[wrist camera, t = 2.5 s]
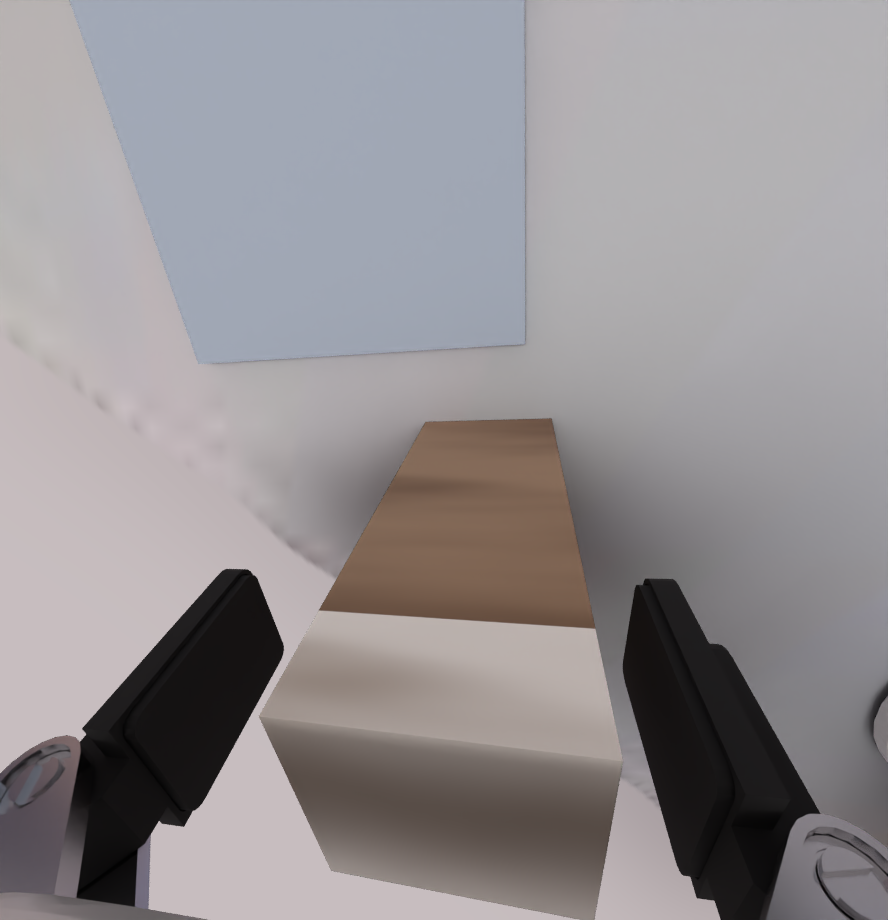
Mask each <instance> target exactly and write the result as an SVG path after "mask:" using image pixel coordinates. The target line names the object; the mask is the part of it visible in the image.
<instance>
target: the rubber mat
mask: <svg viewBox="0 0 888 920" xmlns="http://www.w3.org/2000/svg"><path fill="white" fill-rule="evenodd" d="M69 1H70V3H71V6H72V9H73V12H74V15H75V17H76V20H77V23H78V26H79V29H80V32H81V34H82V37H83V40H84V43H85V46H86V48H87V51H88V54H89V57H90V60H91V63H92V65H93V68H94V71H95V74H96V77H97V79H98V82H99V85H100V88H101V91H102V94H103V96H104V99H105V102H106V105H107V108H108V110H109V113H110V116H111V119H112V122H113V124H114V127H115V130H116V133H117V136H118V139H119V141H120V144H121V147H122V150H123V153H124V155H125V158H126V161H127V164H128V167H129V170H130V172H131V175H132V178H133V181H134V184H135V186H136V189H137V192H138V195H139V198H140V201H141V203H142V206H143V209H144V212H145V215H146V217H147V220H148V223H149V226H150V229H151V231H152V234H153V237H154V240H155V243H156V246H157V248H158V251H159V254H160V257H161V260H162V262H163V265H164V268H165V271H166V274H167V277H168V279H169V282H170V285H171V288H172V291H173V293H174V296H175V299H176V302H177V305H178V308H179V310H180V313H181V316H182V319H183V322H184V324H185V327H186V330H187V333H188V336H189V339H190V341H191V344H192V347H193V350H194V353H195V355H196V358H197V361H198V364H209V363H226V362H242V361H258V360H274V359H291V358H307V357H323V356H340V355H356V354H372V353H388V352H405V351H421V350H437V349H453V348H470V347H486V346H502V345H519V344H525V48H524V0H69Z"/></svg>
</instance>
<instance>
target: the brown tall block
mask: <svg viewBox="0 0 888 920" xmlns="http://www.w3.org/2000/svg"><path fill="white" fill-rule="evenodd" d="M259 718H260V720H261V722H262V724H263V726H264V728H265V731H266V732H267V735H268V737H269V739H270V741H271V743H272V745H273V748H274V750H275V752H276V754H277V756H278V758H279V760H280V763H281V764H282V767H283V769H284V771H285V773H286V775H287V777H288V779H289V782H290V784H291V786H292V788H293V790H294V792H295V795H296V796H297V799H298V801H299V803H300V805H301V807H302V809H303V812H304V814H305V816H306V818H307V820H308V822H309V824H310V826H311V828H312V831H313V833H314V835H315V837H316V839H317V841H318V844H319V846H320V848H321V850H322V852H323V854H324V856H325V859H326V861H327V862H328V865H329V867H330V869H331V871H334V872H340V873H345V874H350V875H355V876H360V877H365V878H370V879H376V880H381V881H386V882H391V883H396V884H401V885H406V886H411V887H416V888H421V889H426V890H431V891H436V892H442V893H447V894H452V895H457V896H462V897H467V898H472V899H477V900H482V901H487V902H493V903H498V904H503V905H508V906H513V907H518V908H523V909H528V910H533V911H539V912H544V913H549V914H554V915H559V916H564V917H570V918H574V919H580V920H594V919H595V912H596V907H597V902H598V897H599V891H600V886H601V880H602V875H603V869H604V864H605V858H606V853H607V847H608V842H609V836H610V830H611V825H612V819H613V813H614V807H615V803H616V797H617V792H618V786H619V781H620V775H621V770H622V764H623V758H622V754H621V749H620V744H619V739H618V735H617V730H616V725H615V720H614V715H613V711H612V706H611V701H610V696H609V691H608V687H607V682H606V677H605V672H604V668H603V663H602V658H601V653H600V648H599V644H598V639H597V634H596V629H595V624H594V620H593V615H592V610H591V605H590V601H589V596H588V591H587V586H586V581H585V577H584V572H583V567H582V562H581V557H580V553H579V548H578V543H577V538H576V534H575V529H574V524H573V519H572V514H571V510H570V505H569V500H568V495H567V490H566V486H565V481H564V476H563V471H562V467H561V462H560V457H559V452H558V447H557V443H556V438H555V433H554V428H553V423H552V419H518V420H482V421H445V422H425V424H424V426H423V428H422V429H421V431H420V433H419V435H418V437H417V438H416V440H415V442H414V444H413V445H412V447H411V449H410V451H409V452H408V454H407V456H406V458H405V459H404V461H403V463H402V465H401V466H400V468H399V470H398V472H397V474H396V475H395V477H394V479H393V481H392V482H391V484H390V486H389V488H388V489H387V491H386V493H385V495H384V496H383V498H382V500H381V502H380V504H379V505H378V507H377V509H376V511H375V512H374V514H373V516H372V518H371V519H370V521H369V523H368V525H367V526H366V528H365V530H364V532H363V533H362V535H361V537H360V539H359V541H358V542H357V544H356V546H355V548H354V549H353V551H352V553H351V555H350V556H349V558H348V560H347V562H346V563H345V565H344V567H343V569H342V571H341V572H340V574H339V576H338V578H337V579H336V581H335V583H334V585H333V586H332V588H331V590H330V592H329V593H328V595H327V597H326V599H325V601H324V602H323V604H322V606H321V608H320V609H319V611H318V613H317V615H316V616H315V618H314V620H313V622H312V623H311V625H310V627H309V629H308V631H307V632H306V634H305V636H304V637H303V639H302V641H301V643H300V645H299V646H298V648H297V650H296V652H295V653H294V655H293V657H292V659H291V661H290V662H289V664H288V666H287V667H286V669H285V671H284V673H283V675H282V676H281V678H280V680H279V682H278V683H277V685H276V687H275V689H274V690H273V692H272V694H271V696H270V698H269V699H268V701H267V703H266V705H265V707H264V708H263V710H262V712H261V713H260V715H259Z"/></svg>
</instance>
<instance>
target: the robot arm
mask: <svg viewBox="0 0 888 920" xmlns="http://www.w3.org/2000/svg"><path fill="white" fill-rule="evenodd" d="M283 651H284V646H283V642H282V640H281V637H280V635H279V632H278V630H277V627H276V625H275V622H274V620H273V617H272V614H271V612H270V609H269V607H268V605H267V602H266V599H265V597H264V594H263V592H262V589H261V587H260V584H259V582H258V579H257V578H256V576H254V575H253V574H252V573H251V571H249V570H245V569H244V570H243V569H226V570H223V571H222V572H221V573H220V574H219V575H218V576H217V577H216V578H215V579H214V580H213V582H212V583H211V584H210V585H209V586H208V587H207V589H205V591H204V592H203V593H202V594H201V595H200V596H199V597H198V599H197V600H196V601H195V602H194V603H193V604H192V605H191V607H189V609H188V610H187V611H186V612H185V613H184V614H183V615H182V616H181V618H180V619H179V620H178V621H177V622H176V623H175V625H174V626H173V627H172V628H171V629H170V630H169V631H168V632H167V634H166V635H165V636H164V637H163V638H162V639H161V640H160V641H159V643H158V644H157V645H156V646H155V647H154V648H153V649H152V650H151V652H150V653H149V654H148V655H147V656H146V657H145V659H143V660H142V662H141V663H140V664H139V665H138V666H137V667H136V668H135V670H134V671H133V672H132V673H131V674H130V675H129V676H128V677H127V679H126V680H125V681H124V682H123V683H122V684H121V685H120V687H119V688H118V689H117V690H116V691H115V692H114V693H113V694H112V695H111V697H110V698H109V699H108V700H107V701H106V702H105V703H104V705H103V706H102V707H101V708H100V709H99V710H98V711H97V713H96V714H95V715H94V716H93V717H92V718H91V719H90V720H89V721H88V723H87V724H86V725H85V726H84V727H83V728H82V729H83V730H84V731H85V733H86V736H85V737H84V738H83V739H82V740H81V741H80V742H79V741H78V740H77V738H76V737H72V736H68V735H66V736H60V737H54V738H52V739H49V740H47V741H44V742H42V743H40V744H38V745H36V746H35V747H33V748H31V749H29V750H28V751H26V752H25V753H24V754H22V755H21V756H20V757H18V758H17V759H16V760H14V761H13V762H12V763H11V764H10V765H9V766H7V767H6V768H5V769H4V770H3V771H2V772H1V773H0V920H206V919H201V918H195V917H189V916H183V915H178V914H172V913H166V912H160V911H155V910H149V909H148V905H149V872H150V871H149V870H150V841H151V833H152V831H153V830H154V828H155V826H156V825H157V823H158V821H160V822H161V823H162V824H169V825H176V826H183V827H184V826H185V824H186V822H187V820H188V819H189V817H190V815H191V813H192V811H193V810H196V809H197V808H198V807H199V806H200V805H201V804H202V803H203V801H204V799H205V798H206V796H207V794H208V792H209V790H210V789H211V787H212V785H213V783H214V781H215V779H216V777H217V776H218V774H219V772H220V770H221V768H222V767H223V765H224V763H225V761H226V759H227V758H228V756H229V754H230V752H231V750H232V748H233V747H234V745H235V743H236V741H237V739H238V737H239V735H240V734H241V732H242V730H243V728H244V726H245V725H246V723H247V721H248V719H249V717H250V716H251V714H252V712H253V710H254V708H255V706H256V705H257V703H258V701H259V699H260V697H261V695H262V694H263V692H264V690H265V688H266V686H267V684H268V683H269V681H270V679H271V677H272V675H273V673H274V672H275V670H276V668H277V666H278V664H279V662H280V661H281V658H282V656H283ZM623 674H624V680H625V683H626V687H627V691H628V694H629V698H630V701H631V705H632V708H633V712H634V715H635V719H636V722H637V726H638V729H639V733H640V737H641V740H642V744H643V747H644V751H645V754H646V758H647V761H648V765H649V768H650V772H651V776H652V779H653V783H654V786H655V790H656V793H657V797H658V800H659V804H660V807H661V811H662V814H663V818H664V822H665V825H666V828H667V832H668V836H669V839H670V843H671V846H672V850H673V853H674V857H675V860H676V863H677V866H678V868H679V871H680V872H681V874H682V875H684V876H690V877H691V880H692V884H693V887H694V890H695V894H696V897H697V898H700V899H707V900H714V901H715V903H716V906H717V909H718V912H719V915H720V919H721V920H888V848H887V847H886V846H884V845H883V844H882V843H880V842H879V841H878V840H876V839H875V838H874V837H873V836H871V835H870V834H869V833H867V832H866V831H864V830H862V829H860V828H859V827H857V826H855V825H853V824H851V823H849V822H848V821H846V820H843V819H840V818H837V817H834V816H830V815H827V814H820V812H819V810H818V809H817V807H816V805H815V803H814V801H813V800H812V798H811V796H810V794H809V793H808V791H807V789H806V787H805V786H804V784H803V782H802V780H801V778H800V777H799V775H798V773H797V771H796V770H795V768H794V766H793V764H792V762H791V761H790V759H789V757H788V755H787V754H786V752H785V750H784V748H783V747H782V745H781V743H780V741H779V739H778V738H777V736H776V734H775V732H774V731H773V729H772V727H771V725H770V724H769V722H768V720H767V718H766V716H765V715H764V713H763V711H762V709H761V708H760V706H759V704H758V702H757V700H756V699H755V697H754V695H753V693H752V692H751V690H750V688H749V686H748V685H747V683H746V681H745V679H744V677H743V676H742V674H741V672H740V670H739V669H738V667H737V665H736V663H735V662H734V660H733V658H732V656H731V655H730V654H729V652H728V651H727V649H725V648H724V647H723V646H722V645H719V644H709V643H708V641H707V639H706V637H705V635H704V633H703V631H702V629H701V627H700V625H699V624H698V622H697V620H696V618H695V616H694V614H693V612H692V610H691V608H690V606H689V605H688V603H687V601H686V599H685V597H684V595H683V593H682V591H681V589H680V587H679V585H678V584H677V582H676V581H675V580H673V579H645V580H644V583H643V585H636V587H635V591H634V597H633V603H632V610H631V616H630V622H629V628H628V634H627V641H626V647H625V653H624V659H623ZM874 739H875V742H876V745H877V748H878V750H879V752H880V753H881V754H882V756H883V757H884V759H885V760H886V761H887V763H888V696H887V697H886V699H885V700H884V701H883V702H882V704H881V706H880V708H879V711H878V713H877V716H876V718H875V720H874Z"/></svg>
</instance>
